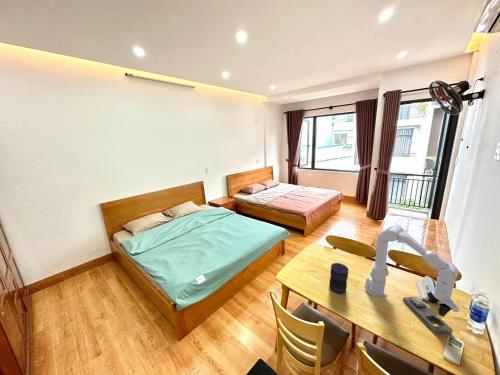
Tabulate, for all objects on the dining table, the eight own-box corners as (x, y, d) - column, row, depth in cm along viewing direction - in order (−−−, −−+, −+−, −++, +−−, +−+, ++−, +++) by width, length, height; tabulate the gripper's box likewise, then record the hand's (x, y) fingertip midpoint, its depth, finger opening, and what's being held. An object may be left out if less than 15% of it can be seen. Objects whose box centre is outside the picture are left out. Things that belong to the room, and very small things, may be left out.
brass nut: (436, 318, 95) (438, 308, 94) (428, 310, 99) (431, 301, 98) (444, 317, 95) (447, 308, 94) (436, 310, 99) (439, 301, 98)
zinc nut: (416, 311, 107) (418, 302, 105) (410, 305, 110) (412, 296, 109) (423, 310, 107) (425, 302, 105) (417, 304, 111) (419, 296, 109)
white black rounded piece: (415, 282, 127) (425, 271, 123) (424, 286, 125) (434, 276, 121) (420, 300, 113) (432, 289, 109) (430, 306, 111) (442, 294, 107)
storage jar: (347, 295, 118) (350, 274, 114) (330, 293, 120) (332, 272, 116) (344, 283, 127) (346, 263, 124) (328, 281, 129) (329, 262, 126)
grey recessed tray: (435, 334, 94) (436, 330, 93) (402, 300, 113) (403, 297, 113) (451, 333, 94) (452, 329, 94) (416, 300, 113) (417, 296, 113)
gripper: (468, 300, 86) (461, 324, 90) (437, 277, 100) (431, 299, 104) (453, 301, 86) (446, 325, 90) (423, 277, 100) (418, 299, 104)
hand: (437, 311), depth 97 cm, fingers closed on brass nut, 4 cm apart
